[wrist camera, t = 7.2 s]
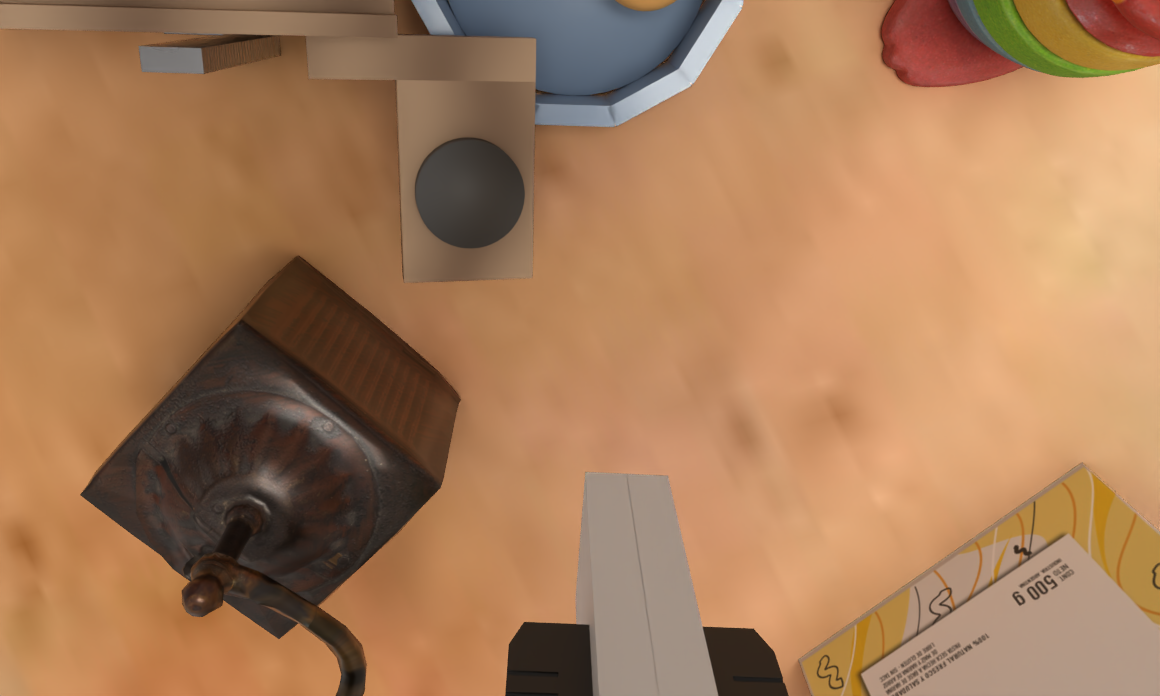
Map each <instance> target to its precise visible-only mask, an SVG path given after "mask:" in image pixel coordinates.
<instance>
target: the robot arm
mask: <svg viewBox="0 0 1160 696" xmlns="http://www.w3.org/2000/svg"><path fill="white" fill-rule="evenodd" d="M505 696H789V695H788V692H787V689H786V686H785V683H783V677H782V674H781V671H780V668H779V665H778V662H777V659H776V656H775V653H774V651H773V650H772V649H771V648H770V647H769V646H768V644H767V643H766V642H765V641H764V640H763V639H762V638H761V637H760V636H759V634H758V633H757V632H756V631H755V630H754V629H747V628H721V627H702V622H701V618H700V614H699V609H698V605H697V601H696V596H695V592H694V588H693V583H692V579H691V574H690V570H689V566H688V561H687V557H686V553H685V548H684V544H683V540H682V535H681V531H680V527H679V522H678V518H677V514H676V509H675V505H674V500H673V496H672V492H671V487H670V483H669V479H668V476H662V475H640V474H619V473H597V472H585V484H584V497H583V509H582V522H581V535H580V548H579V561H578V573H577V586H576V624H561V623H535V622H524V623H523V625H522V626H521V628H520V629H519V630H518V632H517V633H516V635H515V636H514V638H513V639H512V641H511V642H510V644H509V652H508V666H507V680H506V695H505Z"/></svg>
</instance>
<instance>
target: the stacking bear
mask: <svg viewBox="0 0 1160 696" xmlns="http://www.w3.org/2000/svg"><path fill="white" fill-rule="evenodd" d="M882 39H883V41H884V44H885V45H884V50H883V60H884V62H885V63H886V65H887V66H888V67H890V68H893V69H895V70H896V72H897V75H898V77H899V78H900V79H901V80H902V81H903V82H905V83H907V84H910V85H913V86H922V87H944V86H955V85H964V84H969V83H974V82H980V81H984V80H988V79H991V78H994V77H998V76H1001V75H1004V74H1007V73H1009V72H1012V71H1015V70H1017V69H1019V68H1021V67H1026V68H1029V69H1032V70H1035V71H1038V72H1043V73H1046V74H1050V75H1054V76H1060V77H1076V78H1084V77H1099V76H1109V75H1115V74H1120V73H1125V72H1130V71H1135V70H1138V69H1141V68H1144V67H1148V66H1152V65H1156V64H1160V0H895V2H894V3H893V5H892V7H891V8H890V10H889V12H888V13H887V15H886V18H885V20H884V23H883V26H882Z"/></svg>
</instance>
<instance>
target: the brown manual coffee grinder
mask: <svg viewBox="0 0 1160 696" xmlns="http://www.w3.org/2000/svg"><path fill="white" fill-rule="evenodd" d="M460 400H461V399H460V398H459V396H458V395H457V394H456V392H455V391H454V390H453V389H452V387H451V386H450V385H449V384H448V383H447V381H446V380H445V379H444V378H443V377H442V375H441V374H440V373H439V372H438V371H437V370H436V369H435V368H434V367H433V366H432V365H430V364H429V363H428V362H427V361H426V360H425V359H424V358H423V357H421V356H420V355H419V354H418V353H417V352H416V351H415V350H414V349H412V348H411V347H410V346H409V345H408V344H407V343H405V342H404V341H403V340H402V339H401V338H400V337H398V336H397V335H396V334H395V333H394V332H393V331H391V330H390V329H389V328H388V327H387V326H386V325H384V324H383V323H382V322H381V321H380V320H379V319H377V318H376V317H375V316H374V315H373V314H372V313H370V312H369V311H368V310H367V309H365V308H364V307H363V306H362V305H360V304H359V303H358V302H356V301H355V300H354V299H353V298H351V297H350V296H349V295H348V294H346V293H345V292H344V291H343V290H341V289H340V288H339V287H338V286H336V285H335V284H334V283H332V282H331V281H330V280H329V279H327V278H326V277H325V276H324V275H322V274H321V273H320V272H319V271H317V270H316V269H315V268H313V267H312V266H311V265H310V264H308V263H307V262H306V261H305V260H303V259H302V258H301V257H300V256H298V257H295V258H294V259H293V260H292V261H291V262H290V263H289V264H287V265H286V266H285V267H284V268H283V269H282V270H281V271H280V272H278V273H277V274H276V275H275V276H274V277H273V278H272V279H270V280H269V281H268V282H267V283H266V284H265V285H264V286H263V287H262V288H261V290H260V291H259V292H258V293H257V294H256V296H255V297H254V298H253V299H252V300H251V301H250V303H249V304H248V305H247V306H246V307H245V309H244V310H243V311H242V312H241V313H240V314H239V316H238V317H237V318H236V319H235V320H234V321H233V322H232V324H231V325H230V326H229V327H228V328H227V329H226V330H225V331H224V332H223V333H222V334H221V335H220V336H219V338H218V339H217V340H216V341H215V342H214V343H213V344H212V345H211V346H210V347H209V348H208V349H207V350H206V352H205V353H204V354H203V355H202V356H201V357H200V358H199V359H198V360H197V361H196V363H195V364H194V365H193V366H192V367H191V368H190V369H189V370H188V371H187V372H186V373H185V374H184V376H183V377H182V378H181V379H180V380H179V381H178V382H177V383H176V384H175V385H174V386H173V387H172V388H171V389H170V391H169V392H168V393H167V394H166V395H165V396H164V397H163V398H162V399H161V400H160V401H159V402H158V403H157V404H156V405H155V407H154V408H153V409H152V410H151V411H150V412H149V413H148V414H147V415H146V416H145V417H144V418H143V419H142V421H141V422H140V423H139V424H138V425H137V426H136V427H135V428H134V429H133V430H132V431H131V432H130V433H129V434H128V436H127V437H126V438H125V439H124V440H123V441H122V442H121V443H120V444H119V445H118V447H117V448H116V449H115V450H114V451H113V452H112V453H111V455H110V456H109V457H108V458H107V459H106V460H105V462H104V463H103V464H102V465H101V466H100V467H99V469H98V470H97V471H96V472H95V474H94V475H93V477H92V478H91V480H90V482H89V483H88V485H87V487H86V488H85V490H84V491H83V492H82V493H81V494H80V495H81V496H82V497H84V498H85V499H86V500H87V501H89V502H90V503H91V504H93V505H94V506H95V507H97V508H98V509H99V510H101V511H102V512H103V513H105V514H106V515H107V516H108V517H110V518H111V519H112V520H114V521H115V522H116V523H118V524H119V525H120V526H122V527H123V528H124V529H126V530H127V531H128V532H130V533H131V534H132V535H134V536H135V537H136V538H138V539H139V540H141V541H142V542H143V543H145V544H146V545H148V546H149V547H150V548H152V549H153V550H154V551H156V552H157V553H159V554H160V555H161V556H162V557H163V558H164V559H165V560H166V561H167V563H168V564H169V565H170V566H171V567H172V568H173V569H174V570H175V571H176V572H178V573H179V574H181V575H182V576H183V577H185V578H186V579H188V580H189V581H190V582H189V583H188V584H187V585H186V586H185V587H184V589H183V590H182V605H183V607H184V608H185V610H186V612H187V613H189V614H190V615H192V616H197V617H203V616H205V615H206V614H208V613H210V612H212V611H214V610H215V609H217V608H219V607H221V606H222V604H223V600H224V601H225V602H227V603H228V604H230V605H231V606H232V607H234V608H235V609H237V610H238V611H239V612H241V613H242V614H244V615H245V616H247V617H248V618H249V619H251V620H252V621H254V622H255V623H257V624H258V625H259V626H261V627H262V628H264V629H265V630H267V631H268V632H269V633H271V634H272V635H274V636H275V637H277V638H278V639H280V638H281V637H282V636H283V635H285V634H286V633H287V632H288V631H290V630H291V629H292V628H293V627H295V626H296V625H297V624H298V623H299V624H300V625H301V626H303V627H304V628H305V629H307V630H308V631H309V632H311V633H312V634H313V635H315V636H316V637H317V638H319V639H320V640H321V641H323V642H324V643H325V644H326V645H327V646H328V648H329V649H330V650H331V651H332V652H333V654H334V655H335V656H336V657H337V660H338V663H339V667H340V671H341V674H342V675H341V681H340V685H339V688H338V692H337V694H336V696H363V694H364V692H365V679H366V665H367V664H366V660H365V656H364V651H363V647H362V644H361V643H360V642H359V641H358V640H357V639H356V638H355V636H354V635H353V634H352V633H351V632H350V631H349V629H348V628H347V627H346V626H345V625H343V624H342V623H340V622H339V621H338V620H336V619H335V618H333V617H332V616H331V615H329V614H328V613H326V612H325V611H323V610H322V609H321V608H319V607H318V606H319V605H320V604H322V603H323V602H324V601H325V600H326V599H327V598H328V597H329V596H330V595H331V594H332V593H334V592H335V591H336V590H337V589H338V588H339V587H340V586H341V585H342V584H343V583H344V582H345V581H346V580H347V579H348V578H349V577H350V576H351V575H352V574H353V573H355V572H356V571H357V570H358V569H359V568H360V567H361V566H362V565H363V564H364V563H366V562H367V561H368V560H369V559H370V558H371V557H372V556H373V555H374V554H375V553H376V552H377V551H378V550H379V549H381V548H382V547H383V546H384V545H385V544H386V543H387V542H389V541H390V540H391V539H392V538H393V537H394V536H395V535H396V534H398V533H399V532H400V531H401V530H402V528H403V527H404V526H405V525H406V524H407V523H408V521H409V520H410V519H411V518H412V517H413V516H414V514H415V513H416V512H417V511H418V510H419V509H420V508H421V507H422V506H423V505H424V504H425V503H426V502H427V501H428V500H429V499H430V498H431V497H432V496H433V495H434V494H435V493H436V492H437V491H438V490H439V489H440V488H441V485H442V482H443V478H444V473H445V468H446V463H447V458H448V452H449V447H450V442H451V437H452V432H453V427H454V422H455V417H456V412H457V408H458V404H459V402H460Z"/></svg>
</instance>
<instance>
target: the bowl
mask: <svg viewBox="0 0 1160 696" xmlns="http://www.w3.org/2000/svg"><path fill="white" fill-rule="evenodd" d="M411 1H412V3H413V4H414V6H415V8H416V10H417V11H418V13H419V15H420V17H421V19H422V20H423V22H424V24H425V26H426V27H427V29H428V31H429V33H430V35H459V36H500V37H532V38H535V39H536V89H537V90H540V91H545V92H549V93H536V92H535V125H565V126H598V127H615V125H616V127H617V126H618V125H620V124H622V123H624V122H626V121H628V120H629V119H631V118H633V117H635V116H637V115H639V114H641V113H642V112H644V111H646V110H648V109H650V108H652V107H653V106H655V105H657V104H659V103H661V102H663V101H664V100H666V99H668V98H670V97H672V96H674V95H675V94H677V93H679V92H681V91H683V90H685V89H687V88H688V87H690V86H692V85H691V83H692V84H694V82H695V81H696V79H697V78H698V76H699V74H700V73H701V71H702V70H703V68H704V67H705V65H706V63H707V62H708V60H709V59H710V57H711V56H712V54H713V53H714V51H715V49H716V48H717V46H718V45H719V43H720V42H721V40H722V39H723V37H724V35H725V34H726V32H727V31H728V29H729V28H730V26H731V25H732V23H733V21H734V20H735V18H736V17H737V15H738V14H739V12H740V11H741V9H742V7H741V6H743V0H705V1H704V3H703V5H702V6H701V4H702V1H703V0H676V1H675V2H674V3H672V4H670V5H668V6H666V7H664V8H662V9H658V10H654V11H637V10H633V9H630V8H627V7H625V6H623V5H621V4H619V3H618V2H617V1H615V0H449V2H448V0H411ZM449 3H450V4H449ZM700 6H701V8H700ZM673 50H674V51H673ZM672 51H673V52H672ZM671 53H672V54H671ZM670 54H671V56H670V57H669V59H668V60H667V62H665V63H663V64H662V65H660V66H658V65H659V64H660V63H661V62H663V61H664V60H665V59H666V58H667V57H668V56H669V55H670ZM657 66H658V67H657ZM655 67H656V68H655ZM617 88H618V89H617ZM614 89H616V90H614ZM611 90H614V91H612V92H611V93H609V94H607V95H592V94H598V93H603V92H608V91H611ZM551 93H553V94H551Z"/></svg>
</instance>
